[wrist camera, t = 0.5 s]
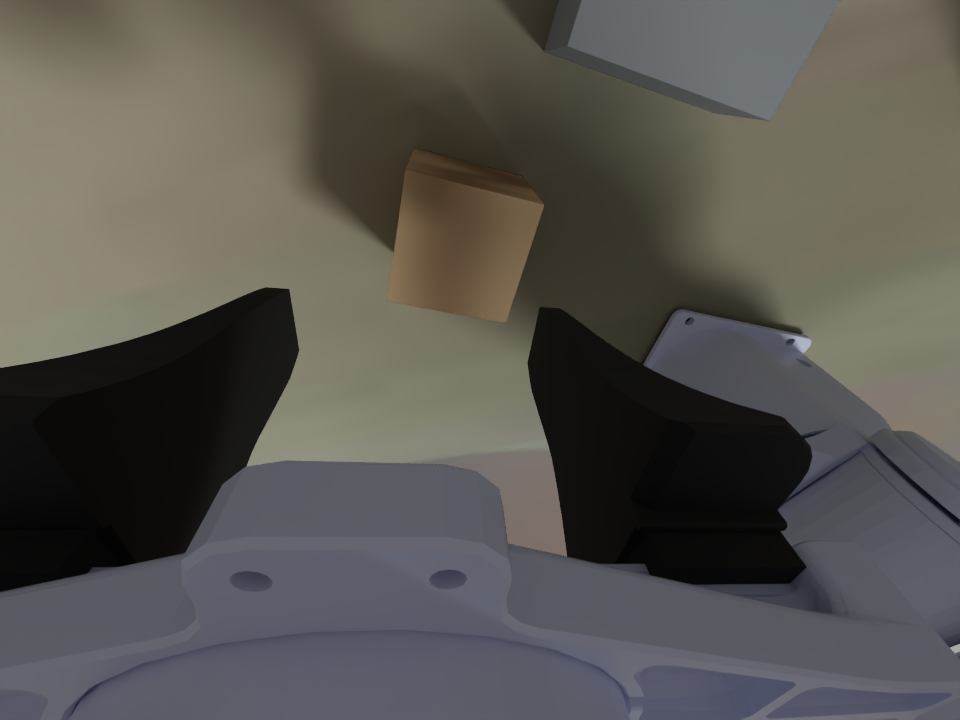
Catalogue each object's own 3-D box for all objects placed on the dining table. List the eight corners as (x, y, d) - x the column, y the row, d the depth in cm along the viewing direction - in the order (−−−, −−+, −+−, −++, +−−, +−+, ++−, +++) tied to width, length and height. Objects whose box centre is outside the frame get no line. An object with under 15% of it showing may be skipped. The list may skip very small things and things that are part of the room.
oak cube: (522, 176, 19) (544, 205, 15) (494, 275, 22) (505, 323, 17) (414, 147, 18) (405, 169, 14) (398, 255, 21) (387, 301, 16)
